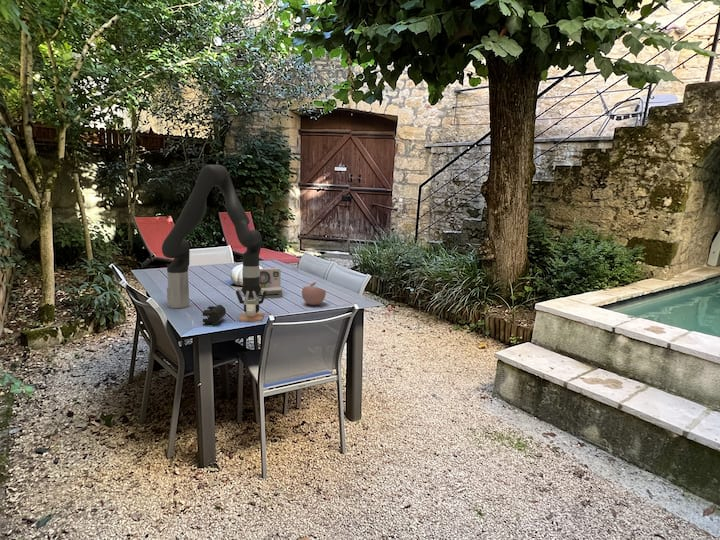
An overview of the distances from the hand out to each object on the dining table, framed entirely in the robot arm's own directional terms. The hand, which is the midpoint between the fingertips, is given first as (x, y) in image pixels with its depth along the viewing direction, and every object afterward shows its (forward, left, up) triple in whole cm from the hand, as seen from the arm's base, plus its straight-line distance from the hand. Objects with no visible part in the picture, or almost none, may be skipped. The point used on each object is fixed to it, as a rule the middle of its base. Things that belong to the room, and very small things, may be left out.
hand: (251, 312), depth 196 cm
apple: (+28, +22, -3) cm, 36 cm away
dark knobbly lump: (-15, -6, -3) cm, 16 cm away
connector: (0, -1, -1) cm, 1 cm away
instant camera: (0, +41, -3) cm, 42 cm away
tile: (0, 0, -3) cm, 3 cm away
